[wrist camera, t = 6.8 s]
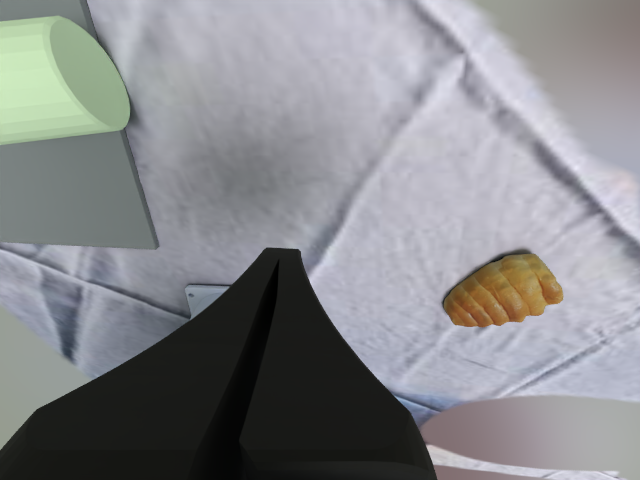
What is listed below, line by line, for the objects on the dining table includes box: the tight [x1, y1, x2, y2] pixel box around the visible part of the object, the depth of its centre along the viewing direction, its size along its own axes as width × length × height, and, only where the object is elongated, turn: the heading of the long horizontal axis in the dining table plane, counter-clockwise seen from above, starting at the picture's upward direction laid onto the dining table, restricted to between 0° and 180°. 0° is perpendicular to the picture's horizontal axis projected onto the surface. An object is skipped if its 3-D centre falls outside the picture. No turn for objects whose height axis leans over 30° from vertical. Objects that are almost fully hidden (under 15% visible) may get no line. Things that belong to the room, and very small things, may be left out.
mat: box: [0, 0, 159, 250], centre depth 15 cm, size 20×13×1 cm, turn 175°
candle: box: [0, 16, 130, 145], centre depth 13 cm, size 5×5×8 cm
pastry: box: [444, 254, 563, 327], centre depth 23 cm, size 9×7×4 cm
